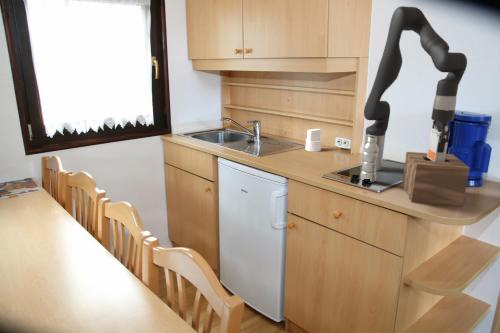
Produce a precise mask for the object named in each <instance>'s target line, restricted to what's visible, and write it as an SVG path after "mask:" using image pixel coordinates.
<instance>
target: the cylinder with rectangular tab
mask: <svg viewBox="0 0 500 333" xmlns="http://www.w3.org/2000/svg"><path fill="white" fill-rule="evenodd" d="M321 135H322V129H320V128H313V129H307V135H306V139H305V151H308V152H320V151H321V150H322V140H321V137H322V136H321Z"/></svg>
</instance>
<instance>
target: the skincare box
mask: <svg viewBox="0 0 500 333" xmlns="http://www.w3.org/2000/svg"><path fill="white" fill-rule="evenodd" d="M430 130H431V131H430V135H429V141H428V148H427V152H426V153H427V158H429V159H430V160H432V161H440V162H445V156H446V154H447V149H448V144H449V139H450V138H449V139H448V142H446V143H445V148H444V152H443V153H439V152H437V148H438V141H439V136H441V132H437V131H436V129H432V128H431V129H430ZM450 133H451V132H449V135H450ZM437 134H438V135H439V136H438V137H437ZM443 139H444V137H443Z"/></svg>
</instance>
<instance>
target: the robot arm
mask: <svg viewBox="0 0 500 333" xmlns="http://www.w3.org/2000/svg"><path fill="white" fill-rule="evenodd" d="M393 11H394V12H393V14H392V15H391V19H390V22H389V27H388V33H387V38H386V41H385V45H384V48H383V52H382V55H381V59H380V62H379V63H378V64H379V65H378V68H377V72H376V76H375V79H374V81H373V84H372V87H371V90H370V92H369V95H368V97H367V100H366V102H365V105H364V109H363V116H364V119H365V120H367V121H375V122H374V123H373V124H371V125H369V126H367V127H366V128H365V134H364V135H365V136H364V143H363V144H364V145H363V147H364V146H365V145H366V144H367V143H368V141H367V140H368V137H377V142H376V144H377V146H378V148H379V152H378V156H377V161H376V172H377V171H381V170H382V165H383V157H384V149H385V140H386V132H387V131H388V127H389V123H390V122H389V121H390V116H391V115H390V114H391V106H390V104H389V101H387V100H381V99H382V96H383V95H384V93H386V91H387V90H388V89H389V88H391V86H392V85H393V84H394V83H395V82H396V80H397V79H398V77H399V74H400V71H401V69H402V65H403V56H402V52H401V47H400V41H401V37H402V33H403V31H405V32H406V31H408V32H409V31H410V32H411V31H412V32H414V33H416V34H417V35H418V36H419V43H420V45H421V48H422V50H424V52H426V54H428V56H430V59H431V61H432V63H433V65H434V68H435V69H436V70H437V71H439V72H441V73H447V75H446V76H445V78H442V79H439V80H438V81H437V85H436V90H435V91H436V92H435V97H434V100H433V106H432V111H431V120H432V127H431V129H436V131H437V132H441V136H439V135H438V134H437V137H438V136H439V141H438V148H437V152H439V153H443V152H444V148H445V143H446V142H448V143H449V140H448V139H450V134H449V132H450V131H451V125H448V123H449V122H454V118H455V113H456V106H457V95H458V90H459V84H460V83H461V81H462V78H463V76H464V74H465V71H466V70H467V65H468V59H467V56H466V54H464V53H463V52H453V51H452V52H450V45H449V44H448V43H447V41H445V39H444V38H442V36H441V35H439V33H437V32H436V30H435V29H434V28H433V26H432V24H431V23H430V22H429V20H428V19H427V17H426V15H425V14H424V13H423V11H422V10H421V9H420V8H419V9H418V7H416V6H404V5H403V6H398V7H397V8H395V10H393ZM450 133H451V132H450ZM443 137H444V139H443ZM362 167H363V161H362V164H361V168H362Z"/></svg>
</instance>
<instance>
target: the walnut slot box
mask: <svg viewBox="0 0 500 333" xmlns="http://www.w3.org/2000/svg"><path fill="white" fill-rule="evenodd" d="M427 153H428V152H415V151H406V152H405V159H404V160H405V162H404V166H403V168H404V169H403V174H402V175H403V176H402V183H401V186H402V188H403V190H404V192H405V194H406V195H407V197H408V199H409V201H410V202H411V203H416V204H417V203H419V204H433V205H440V206H441V205H443V206H451V207H452V206H453V207H455V206H456V207H463V206H464V202H465V195H466V191H467V185H468V180H469V175H470V168H471V167H470V166H468V165H467V164H466V163H464V162H463V161H462V160H461V159H459V158H458V157H456V156H455V155H454V154H451V153H450V154H449V153H446V156H445V162H440V161H432V160H430V159H429V158H427Z"/></svg>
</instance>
